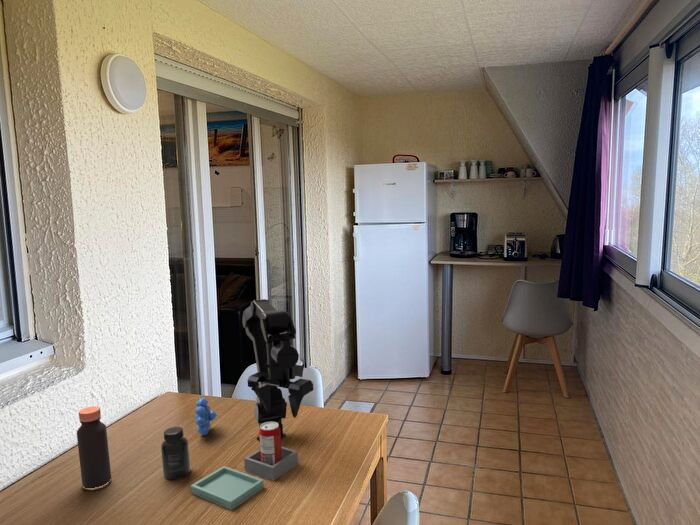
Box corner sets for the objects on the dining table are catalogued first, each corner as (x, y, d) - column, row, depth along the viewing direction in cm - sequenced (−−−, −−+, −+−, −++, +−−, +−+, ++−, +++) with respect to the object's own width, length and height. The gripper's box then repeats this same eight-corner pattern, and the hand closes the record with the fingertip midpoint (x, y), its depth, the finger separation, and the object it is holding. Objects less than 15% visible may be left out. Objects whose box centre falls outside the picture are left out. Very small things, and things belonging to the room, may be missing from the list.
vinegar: (117, 478, 139) (109, 405, 137) (100, 492, 132) (92, 416, 130) (94, 476, 140) (86, 404, 138) (76, 490, 134) (68, 414, 131)
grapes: (216, 442, 157) (213, 403, 156) (193, 444, 157) (190, 405, 155) (220, 425, 169) (218, 389, 167) (199, 427, 168) (196, 391, 167)
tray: (191, 493, 130) (190, 485, 130) (224, 472, 139) (224, 465, 139) (231, 509, 123) (230, 501, 122) (263, 487, 132) (263, 479, 131)
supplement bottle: (195, 468, 142) (192, 426, 141) (180, 482, 136) (176, 437, 134) (174, 465, 145) (170, 423, 143) (157, 478, 138) (153, 434, 137)
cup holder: (245, 470, 140) (244, 458, 140) (270, 454, 148) (269, 442, 148) (273, 480, 135) (272, 467, 134) (298, 463, 143) (297, 451, 142)
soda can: (280, 460, 145) (277, 418, 143) (284, 470, 140) (281, 426, 138) (260, 464, 143) (257, 422, 142) (263, 474, 138) (260, 430, 137)
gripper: (323, 354, 144) (326, 409, 145) (271, 346, 154) (274, 398, 155) (298, 366, 134) (302, 424, 136) (244, 357, 144) (248, 412, 146)
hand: (281, 414), depth 144 cm, fingers open, 9 cm apart
